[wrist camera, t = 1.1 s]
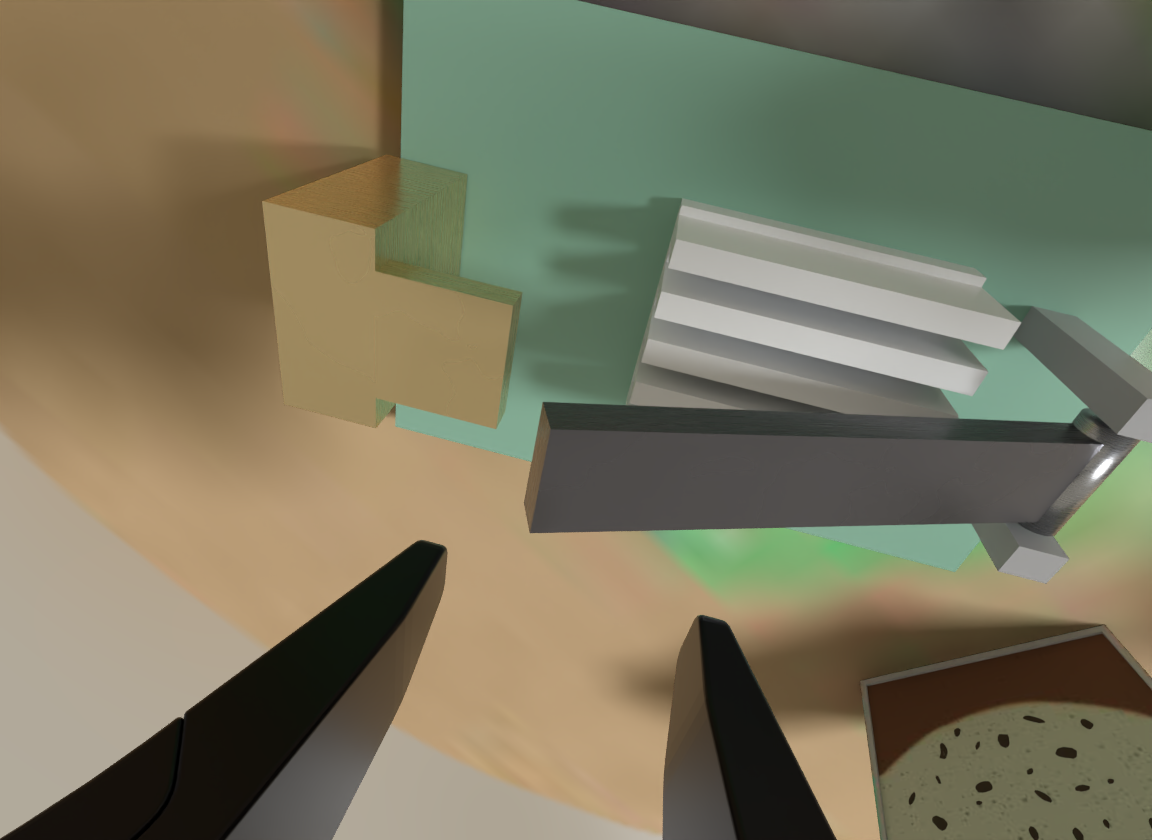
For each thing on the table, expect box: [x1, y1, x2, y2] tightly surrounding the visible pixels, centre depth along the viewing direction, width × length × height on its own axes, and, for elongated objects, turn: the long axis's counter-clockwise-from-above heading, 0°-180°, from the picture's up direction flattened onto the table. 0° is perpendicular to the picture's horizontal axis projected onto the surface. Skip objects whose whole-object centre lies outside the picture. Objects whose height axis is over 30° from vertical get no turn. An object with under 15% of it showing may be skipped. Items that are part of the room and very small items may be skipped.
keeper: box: [262, 155, 523, 429], centre depth 16 cm, size 5×5×6 cm
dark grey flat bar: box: [524, 402, 1141, 536], centre depth 13 cm, size 14×3×1 cm, turn 79°
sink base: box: [396, 0, 1152, 583], centre depth 16 cm, size 21×14×6 cm, turn 80°
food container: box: [860, 625, 1152, 840], centre depth 22 cm, size 12×6×10 cm, turn 126°
